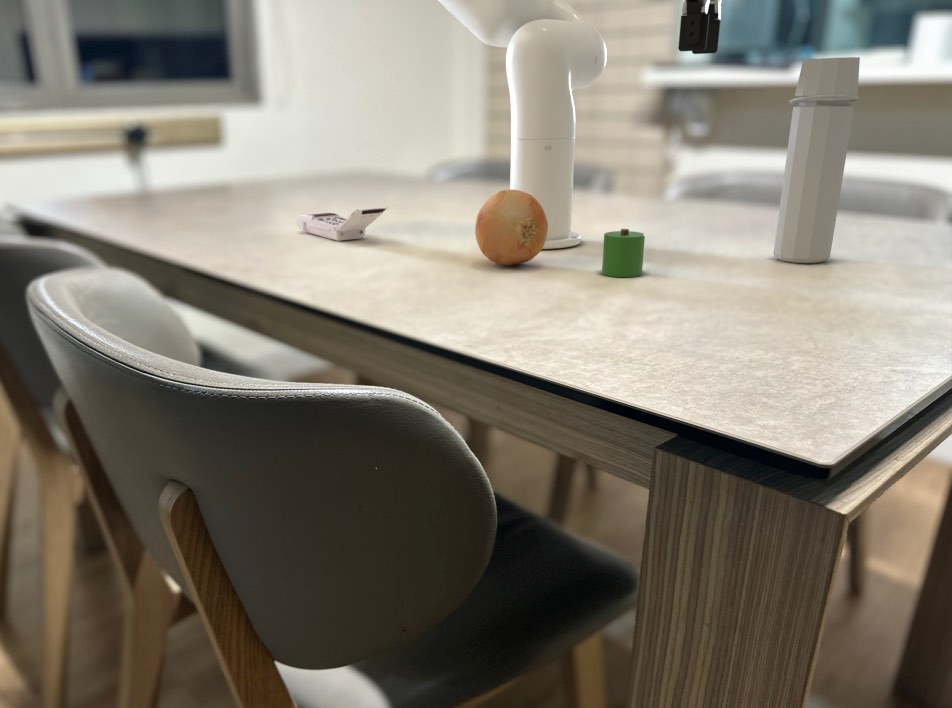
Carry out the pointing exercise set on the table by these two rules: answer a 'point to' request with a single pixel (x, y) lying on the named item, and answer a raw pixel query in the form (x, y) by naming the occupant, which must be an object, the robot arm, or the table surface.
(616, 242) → the green cylinder with nub
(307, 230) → the mobile phone
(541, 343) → the table surface
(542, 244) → the onion
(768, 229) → the table surface
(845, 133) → the water bottle
